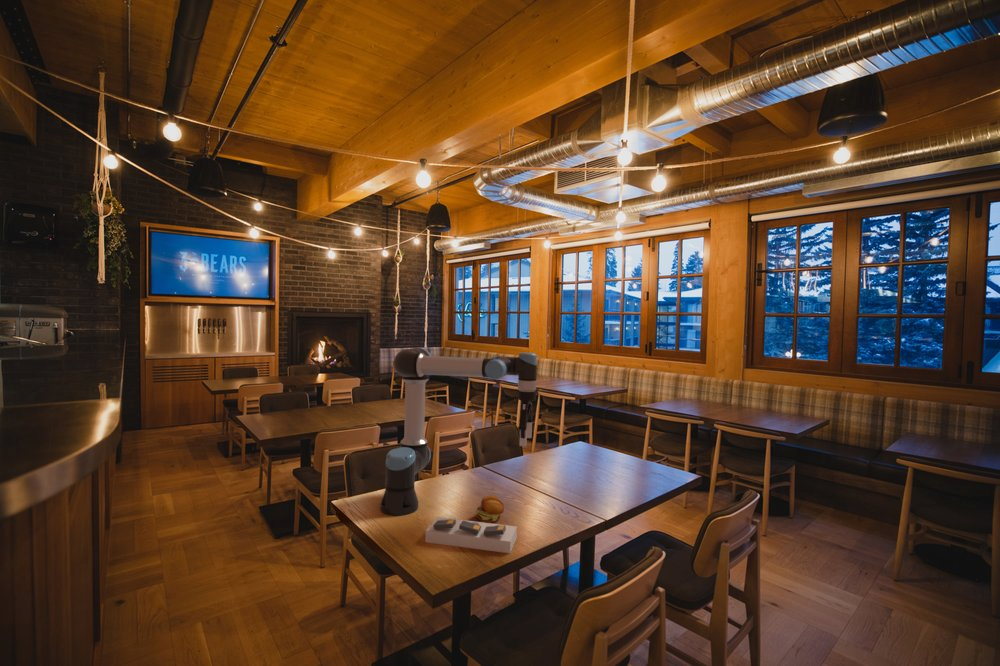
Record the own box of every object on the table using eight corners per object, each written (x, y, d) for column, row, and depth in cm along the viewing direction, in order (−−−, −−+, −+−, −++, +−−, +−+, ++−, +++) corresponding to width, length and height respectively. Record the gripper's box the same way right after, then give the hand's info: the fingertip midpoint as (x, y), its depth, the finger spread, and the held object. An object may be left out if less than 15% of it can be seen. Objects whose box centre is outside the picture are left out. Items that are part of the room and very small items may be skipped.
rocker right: (484, 535, 160) (483, 531, 160) (486, 530, 164) (486, 526, 164) (503, 534, 159) (502, 530, 159) (505, 529, 163) (505, 525, 163)
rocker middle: (458, 529, 162) (459, 524, 162) (462, 524, 166) (463, 520, 166) (477, 534, 161) (478, 530, 161) (480, 529, 165) (481, 525, 164)
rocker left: (433, 529, 164) (433, 524, 164) (437, 524, 168) (437, 520, 168) (452, 528, 162) (451, 523, 163) (455, 523, 166) (455, 519, 166)
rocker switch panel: (425, 542, 164) (425, 530, 164) (437, 527, 175) (437, 516, 175) (510, 553, 157) (510, 541, 157) (516, 537, 169) (516, 526, 169)
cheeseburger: (486, 510, 192) (491, 488, 191) (506, 524, 186) (511, 501, 184) (469, 517, 184) (474, 494, 183) (489, 532, 178) (495, 508, 176)
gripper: (531, 395, 181) (530, 450, 181) (540, 386, 205) (538, 435, 206) (512, 394, 182) (510, 448, 183) (523, 385, 207) (521, 434, 207)
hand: (525, 441), depth 194 cm, fingers open, 13 cm apart
